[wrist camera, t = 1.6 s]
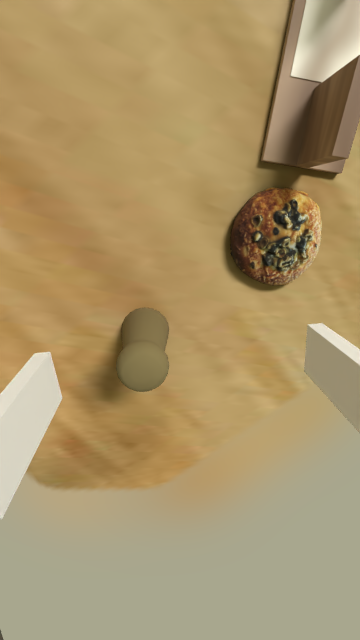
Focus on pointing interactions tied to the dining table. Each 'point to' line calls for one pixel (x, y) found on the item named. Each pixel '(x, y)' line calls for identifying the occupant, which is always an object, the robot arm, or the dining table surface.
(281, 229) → the bread roll
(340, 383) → the robot arm
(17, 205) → the dining table surface
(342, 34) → the notched board
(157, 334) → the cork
